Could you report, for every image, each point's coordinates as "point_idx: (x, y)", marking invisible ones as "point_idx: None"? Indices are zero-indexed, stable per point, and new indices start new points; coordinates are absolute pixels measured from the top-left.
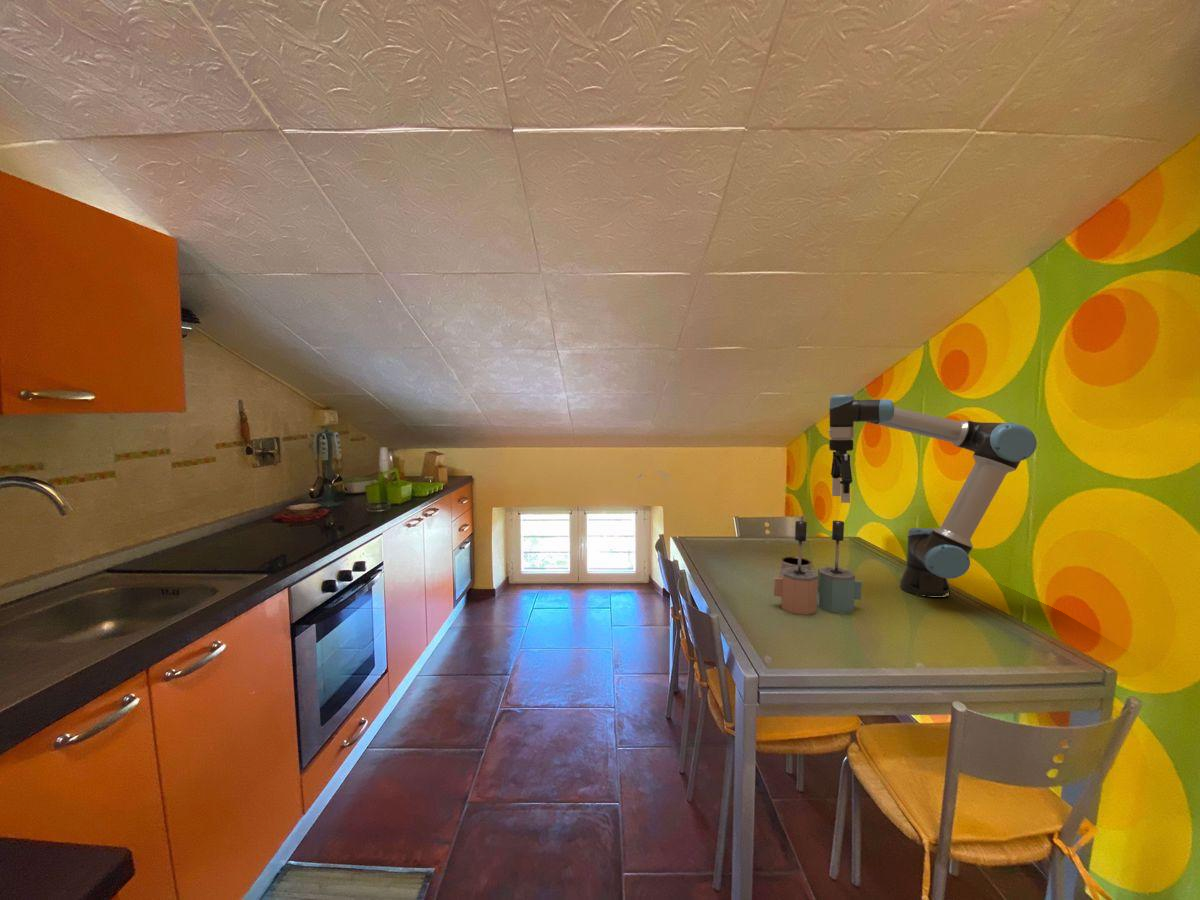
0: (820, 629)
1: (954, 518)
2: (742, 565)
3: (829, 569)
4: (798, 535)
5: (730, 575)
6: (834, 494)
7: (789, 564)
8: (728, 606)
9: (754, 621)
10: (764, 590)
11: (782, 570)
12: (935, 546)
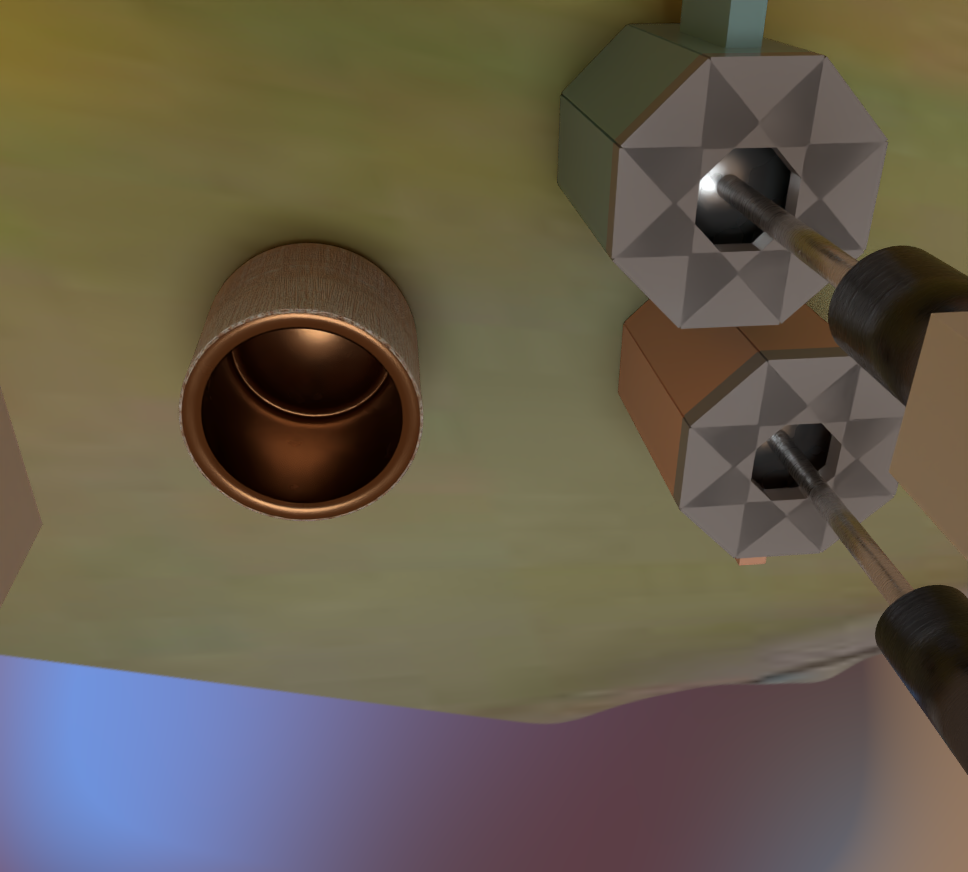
0: None
1: None
2: (17, 631)
3: (689, 244)
4: None
5: (267, 674)
6: (14, 512)
7: (406, 469)
8: (741, 648)
9: (901, 547)
10: (472, 510)
11: (763, 556)
12: None
